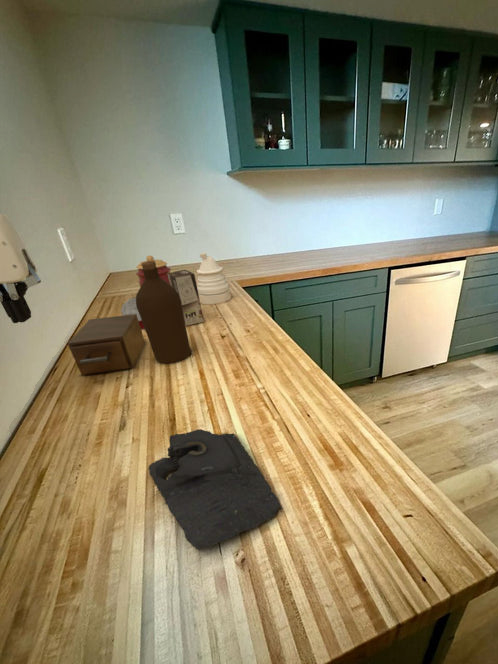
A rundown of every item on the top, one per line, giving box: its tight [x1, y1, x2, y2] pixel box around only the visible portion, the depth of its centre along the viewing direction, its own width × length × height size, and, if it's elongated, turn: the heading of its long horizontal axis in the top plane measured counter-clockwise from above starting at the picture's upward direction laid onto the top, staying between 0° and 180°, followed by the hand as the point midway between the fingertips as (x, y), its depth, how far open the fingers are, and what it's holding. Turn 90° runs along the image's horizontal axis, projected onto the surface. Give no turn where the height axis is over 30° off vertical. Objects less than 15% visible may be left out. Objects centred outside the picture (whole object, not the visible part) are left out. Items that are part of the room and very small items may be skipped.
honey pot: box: [196, 252, 232, 305], centre depth 131 cm, size 13×13×18 cm
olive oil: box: [135, 260, 192, 364], centre depth 86 cm, size 11×11×25 cm
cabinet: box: [67, 314, 146, 376], centre depth 91 cm, size 17×13×9 cm
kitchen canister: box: [135, 255, 172, 288], centre depth 134 cm, size 13×13×18 cm
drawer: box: [69, 340, 130, 375], centre depth 88 cm, size 20×11×7 cm, turn 12°
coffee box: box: [167, 269, 205, 327], centre depth 112 cm, size 9×6×16 cm
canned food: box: [120, 296, 145, 330], centre depth 114 cm, size 11×10×10 cm
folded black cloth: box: [148, 429, 283, 551], centre depth 51 cm, size 15×22×5 cm
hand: (22, 319), depth 60 cm, fingers closed
